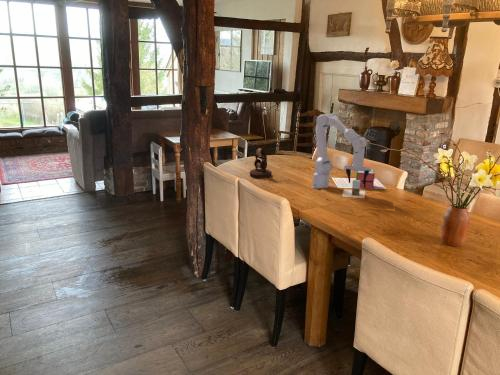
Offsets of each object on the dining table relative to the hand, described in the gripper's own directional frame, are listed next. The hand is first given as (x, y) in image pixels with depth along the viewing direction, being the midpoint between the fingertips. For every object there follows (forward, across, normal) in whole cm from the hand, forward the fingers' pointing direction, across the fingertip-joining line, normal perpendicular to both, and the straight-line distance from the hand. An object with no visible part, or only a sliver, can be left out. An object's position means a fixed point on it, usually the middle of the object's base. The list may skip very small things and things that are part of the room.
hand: (356, 183), depth 233 cm
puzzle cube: (+8, +4, +20) cm, 22 cm away
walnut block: (+7, 0, 0) cm, 7 cm away
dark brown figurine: (+8, -63, +26) cm, 69 cm away
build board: (+7, -1, +1) cm, 8 cm away
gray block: (+3, 0, 0) cm, 3 cm away
